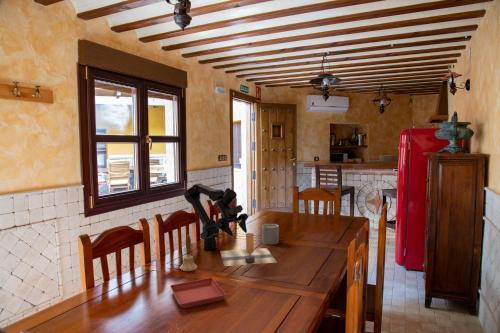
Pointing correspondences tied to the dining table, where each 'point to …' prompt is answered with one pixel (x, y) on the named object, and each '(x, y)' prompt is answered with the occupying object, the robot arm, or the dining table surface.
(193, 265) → the hand bell
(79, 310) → the dining table surface
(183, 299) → the plant saucer
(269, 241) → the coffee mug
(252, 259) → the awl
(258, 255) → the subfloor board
